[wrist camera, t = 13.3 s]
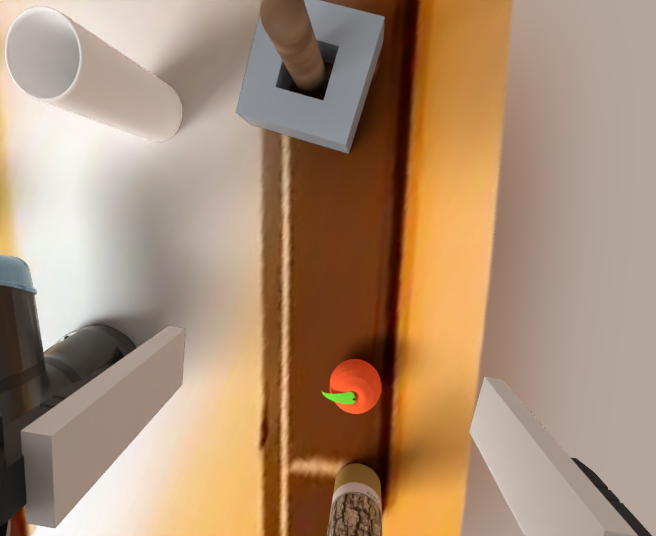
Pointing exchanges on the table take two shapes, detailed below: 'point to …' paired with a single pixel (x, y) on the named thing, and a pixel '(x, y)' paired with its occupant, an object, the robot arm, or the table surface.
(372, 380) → the clementine
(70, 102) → the cup
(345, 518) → the paper tube
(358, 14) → the socket
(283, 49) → the dowel
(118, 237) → the table surface
